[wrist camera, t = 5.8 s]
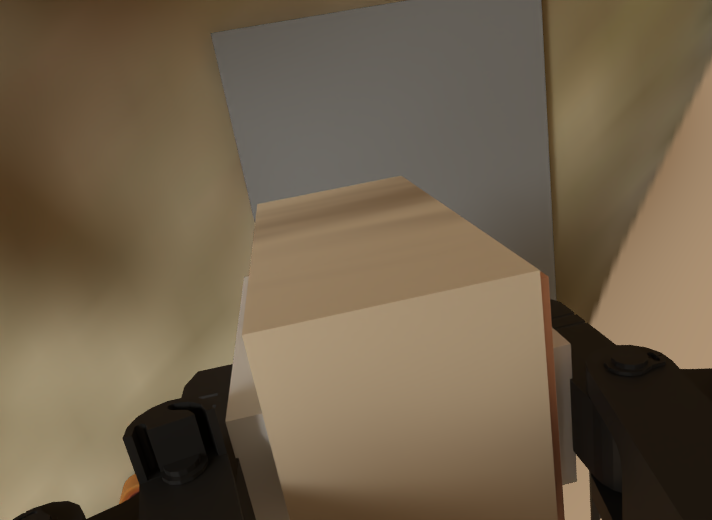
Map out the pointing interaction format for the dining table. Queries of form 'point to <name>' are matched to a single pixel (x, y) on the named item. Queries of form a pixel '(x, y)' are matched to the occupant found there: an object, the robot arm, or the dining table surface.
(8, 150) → the dining table surface
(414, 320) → the wooden block
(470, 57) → the mat
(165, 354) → the dining table surface
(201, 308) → the dining table surface
